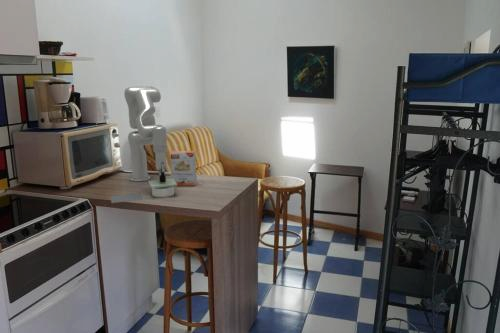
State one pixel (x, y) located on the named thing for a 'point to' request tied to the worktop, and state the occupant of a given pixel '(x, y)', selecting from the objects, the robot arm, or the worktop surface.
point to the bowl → (163, 191)
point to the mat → (126, 198)
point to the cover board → (162, 183)
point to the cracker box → (183, 167)
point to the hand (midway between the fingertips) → (162, 180)
